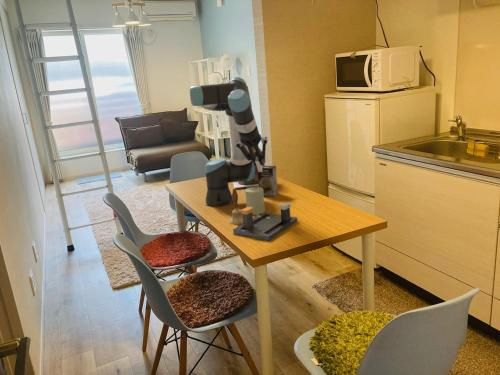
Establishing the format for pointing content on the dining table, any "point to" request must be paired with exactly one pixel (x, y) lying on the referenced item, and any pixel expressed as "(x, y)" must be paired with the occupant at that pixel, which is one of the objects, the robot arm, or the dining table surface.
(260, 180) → the coffee box
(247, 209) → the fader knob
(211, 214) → the dining table surface
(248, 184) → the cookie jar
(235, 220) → the hand bell
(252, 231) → the dark grey stand
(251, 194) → the can
